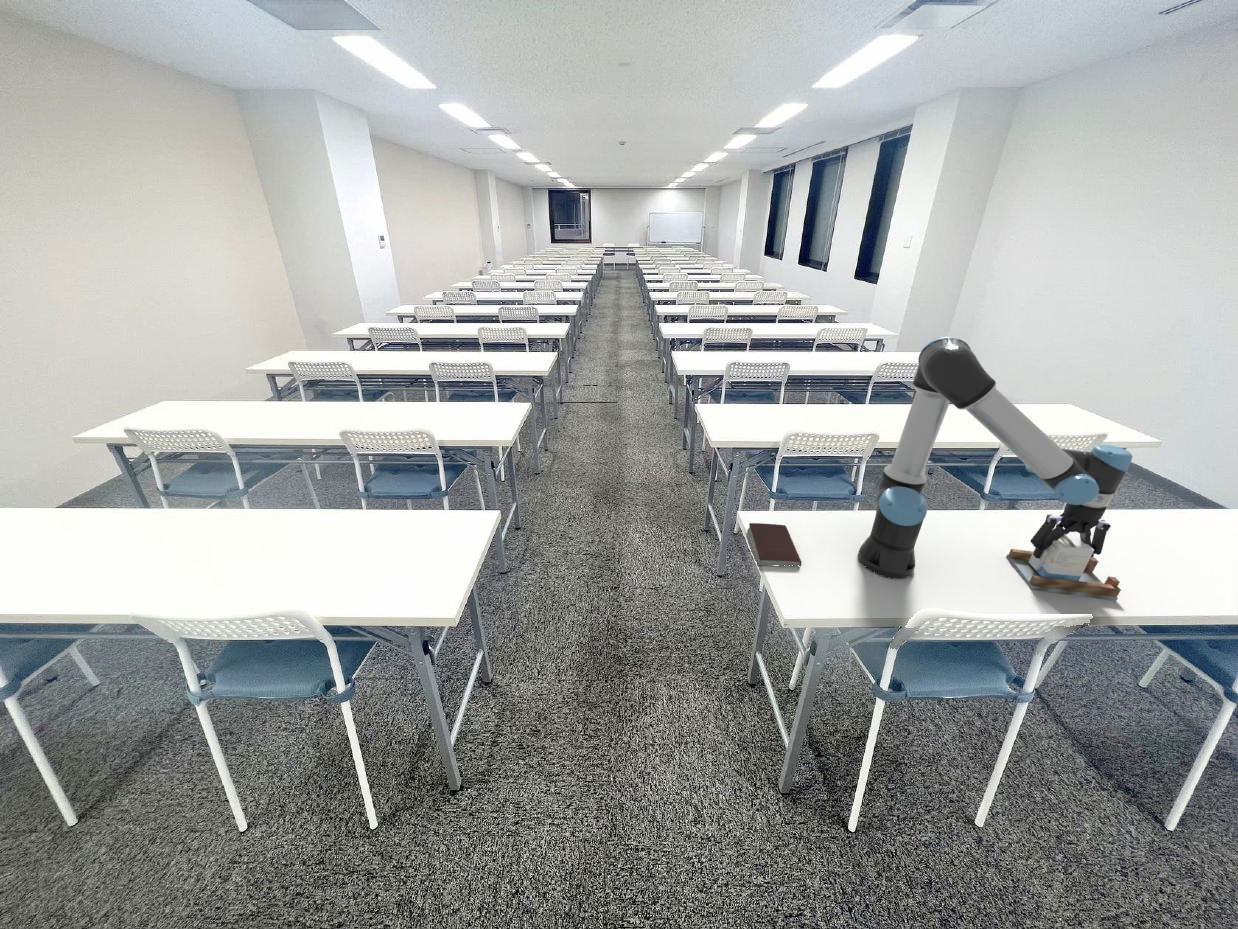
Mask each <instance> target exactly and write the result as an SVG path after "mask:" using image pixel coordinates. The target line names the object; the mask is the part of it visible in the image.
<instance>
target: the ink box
mask: <svg viewBox="0 0 1238 929" xmlns="http://www.w3.org/2000/svg"><path fill="white" fill-rule="evenodd" d="M1035 549H1036V547H1035V546H1034V550H1033V553H1034V551H1035ZM1047 550H1048V553H1047V555H1046V557H1045V559H1044V561H1043V563H1042V565H1041V567H1040V569H1039V570H1038V569H1036V568H1035V567H1034V566H1033V565H1032V564H1031V563H1032V561H1033V559H1034V557H1035V556H1034V555H1033V554H1032V556H1031V558H1030V560H1029V564H1030V565H1031V566H1032V567H1033V568H1034V569H1035V570H1036V571H1037V572H1038V573H1039V574H1040V575H1041V576H1043V577H1051V578H1058V579H1066V580H1074V581H1079V579H1080V577H1081V575H1082V573H1083V571H1084V569H1085V567H1086V565H1087V564H1088V562H1089V559H1090V558H1091V556H1092V554H1093V552H1094V549H1093V548H1092V547H1091V546H1089V545H1088V544H1085V543H1084V542H1083V541H1082V540H1081V539H1080V535H1078V533H1077V532H1069V533H1068V534H1066V535H1063V536H1062V537H1061V538H1059V539H1058V540H1057V541H1055V540H1054V541H1053V543H1052V545H1051V546H1049V547H1048V548H1047Z"/></svg>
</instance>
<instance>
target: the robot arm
mask: <svg viewBox="0 0 1238 929" xmlns="http://www.w3.org/2000/svg"><path fill="white" fill-rule="evenodd" d="M917 360H918V361H917V362H918V366H917V369H916V372H915V375H914V378H913V382H912V387H913V388H914V389H915V390H916V392H915V394H914V397H913V400H912V404H911V406H910V409H909V411H908V414H907V418H906V421H905V423H904V426H903V430H902V432H901V435H900V438H899V441H898V444H897V446H896V450H895V453H894V455H893V459H892V462H891V464H889V465H886V466H884V469H883V470H882V474H881V476H880V477H879V478H878V480H877V481H876V484H875V488H874V489H875V491H874V492H875V493H874V494H875V504H876V507H875V509H876V510H875V517H874V520H873V524H872V528H871V531H870V535H869V536H868V537H867V538H866V539H865V541H864V542H863V543H862V545H861V546H860V547H859V549H858V554H857V558H859V559H858V561H859V560H860V561H859V562H860V564H861V563H862V564H863V565H864V566H866V567H865V569H867V570H868V569H869V570H868V571H870V570H871V571H870V572H871V573H874V572H875V573H874V574H876V573H877V574H876V575H878V576H881V575H882V576H881V577H884V578H888V577H890V578H889V579H894V578H895V579H896V580H897V579H898V580H901V579H906V578H909V577H910V576H912V575H913V573H914V570H915V568H916V556H915V545H916V543H917V541H918V537H919V534H920V531H921V529H922V525H923V523H924V520H925V518H926V516H927V513H928V501H927V498H926V497H924V495H922V492H923V491H924V488H925V486H926V483H927V476H926V474H925V473H924V472H925V468H926V465H927V463H928V461H929V458H930V455H931V452H932V450H933V448H934V445H935V442H936V439H937V437H938V434H939V432H940V429H941V427H942V424H943V421H944V418H945V416H946V413H947V411H948V409H949V406H950V403H951V404H952V405H954V406H955V408H956V409H958V410H966V412H968V413H969V414H970V415H971V416H973V418H975V419H976V420H977V422H979V423H980V424H981V425H982V426H983V427H984V428H986V430H988V431H989V432H990V433H991V434H992V435H993V436H994V437H995V438H996V439H997V440H999V442H1001V443H1002V444H1003V445H1004V446H1005V447H1006V448H1007V449H1008V450H1009V451H1011V453H1013V454H1014V455H1015V456H1016V457H1017V458H1018V459H1019V460H1020V461H1021V462H1023V463H1024V464H1025V469H1026V471H1027V472H1029V473H1033V474H1036V475H1037V476H1038V478H1040V479H1041V481H1043V483H1045V484H1046V485H1047V486H1048V487H1049V488H1050V489H1052V490H1053V492H1054V494H1055V495H1056V497H1057V498H1059V500H1061V501H1062V502H1064V504H1065V506H1064V509H1063V512H1062V513H1061V514H1060V515H1052V514H1050V513H1048V514H1047V515H1046V517H1045V521H1044V523H1042V525H1041V526H1040V528H1038V530H1037V531H1036V532H1035V534H1034V535H1033V537H1032V538H1031V539H1030V543H1031V544H1032V546H1034V549H1035V547H1036V549H1035V551H1034V550H1033V551H1034V553H1033V555H1034V556H1035V557H1034V559H1033V561H1032V563H1031V564H1032V565H1033V566H1034V567H1035V568H1036V569H1038V570H1039V569H1040V567H1041V565H1042V563H1043V561H1044V559H1045V557H1046V555H1047V553H1048V550H1047V548H1048V547H1049V546H1051V545H1052V543H1053V541H1054V540H1055V541H1057V540H1058V539H1059V538H1061V537H1062V536H1063V535H1066V534H1068V533H1077V534H1079V537H1080V539H1081V540H1082V541H1083V542H1084V543H1085V544H1088V545H1089V546H1091V547H1092V548H1093V549H1094V552H1093V554H1092V556H1091V557H1094V556H1095V555H1101V554H1102V551H1103V547H1104V544H1105V540H1106V536H1107V532H1108V531H1109V530H1110V528H1112V526H1111V524H1110V523H1108V521H1106V520H1105V519H1102V517H1103V515H1104V514H1105V512H1106V510H1107V507H1108V506H1109V504H1110V503H1111V501H1112V499H1113V497H1114V495H1115V493H1116V491H1117V489H1118V488H1119V485H1120V484H1121V481H1122V480H1123V478H1124V476H1125V475H1126V473H1127V472H1128V470H1129V468H1130V464H1131V463H1132V459H1133V454H1132V452H1130V451H1129V450H1127V449H1125V448H1122V447H1119V446H1116V445H1111V444H1110V445H1109V444H1098V445H1097V444H1096V445H1095V446H1094V447H1093V448H1092V449H1091V451H1081V450H1080V451H1079V450H1074V449H1067V448H1061V446H1059V445H1058V444H1057V443H1056V442H1055V441H1054V440H1053V439H1052V438H1050V437H1049V436H1048V435H1047V434H1046V433H1045V432H1044V431H1043V430H1042V429H1040V427H1038V425H1036V424H1035V423H1034V422H1033V421H1032V420H1031V419H1030V418H1029V417H1028V416H1026V415H1025V414H1024V413H1023V412H1022V411H1021V410H1020V409H1019V408H1018V407H1017V406H1015V405H1014V404H1013V403H1012V402H1011V401H1010V400H1009V399H1008V398H1007V397H1006V396H1004V395H1003V393H1002V392H1001V391H999V390H998V389H997V388H996V386H997V381H996V380H995V379H994V378H993V377H992V376H991V375H989V373H988V372H987V371H986V370H985V369H984V367H983V366H982V365H981V363H980V361H979V360H978V358H977V356H976V355H975V353H974V352H973V351H972V349H971V347H970V346H969V344H968V343H967V342H966V341H964V340H962V339H960V338H957V337H954V336H943V337H937V338H935V339H933V340H931V341H930V342H928V343H927V344H926V345H925V346H924V347H923V348H922V349H921V352H920V353H919V356H918V359H917ZM1093 528H1094V532H1093V535H1092V530H1091V529H1093ZM1091 536H1092V539H1091ZM1094 558H1095V557H1094ZM862 564H861V565H862ZM863 565H862V566H863ZM864 566H863V567H864ZM895 579H894V580H895Z"/></svg>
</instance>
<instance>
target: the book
mask: <svg viewBox="0 0 1238 929" xmlns="http://www.w3.org/2000/svg"><path fill="white" fill-rule="evenodd" d="M748 525H749V526H748V528H747V533H748V535H749V539H750V538H751V539H750V541H751V542H750V543H751V544H752V548H753V550H754V549H755V551H754V553H755V557H756V559H757V560H756V561H757V564H759V566H758V567H761V565H762V567H765V566H764V565H779V566H778V567H785V566H789V565H790V566H792V565H793V566H798V565H799V566H800V567H801V566H802V559H801V558H800V555H799V553H798V551H797V549H796V546H795V544H794V541H793V539H792V538H791V534H790V532H789V530H788V528H787V525H785V524H775V523H763V522H762V523H760V522H757V523H756V522H749V523H748ZM784 565H785V566H784Z"/></svg>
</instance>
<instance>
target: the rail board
mask: <svg viewBox="0 0 1238 929" xmlns="http://www.w3.org/2000/svg"><path fill="white" fill-rule="evenodd" d="M1033 551H1034V550H1033ZM1033 551H1032V550H1026V549H1025V550H1023V549H1017V548H1011V549H1010V551H1009V552H1008V554H1006V556H1005V557H1006V558H1007V561H1009V563H1010V564H1011V565H1012V566H1013V568H1014V570H1015V571H1016V572H1017V573H1018V574H1019V576H1021V578H1022V579H1023V580H1024V582H1025V583H1026V584H1027V585H1028V588H1030V589H1031V591H1032V590H1033V591H1040V592H1049V593H1056V594H1061V595H1069V596H1077V597H1083V598H1090V597H1091V599H1098V600H1099V599H1100V600H1105V599H1107V600H1106V601H1112V600H1117V601H1118V599H1119V598H1118V596H1119V594H1120V593H1121V591H1122V589H1121V588H1120V587H1119V584H1120V582H1121V581H1120V580H1119V579H1117V578H1116V577H1115V576H1109V575H1108V577H1107V578H1106V580H1105V581H1104V582H1102V580H1101V579H1100V578H1099V577H1098V576H1096V574H1095V573H1093V572H1094V571H1095V568H1096V566H1097V565H1098V563H1099V560H1098V559H1097V558H1096V557H1091V558H1090V559H1089V562H1088V564H1087V565H1086V567H1085V569H1084V571H1083V573H1082V575H1081V577H1080V579H1079V581H1074V580H1066V579H1058V578H1051V577H1043V576H1041V575H1040V574H1039V573H1038V572H1037V571H1036V570H1035V569H1034V568H1033V567H1032V566H1031V565H1030V564H1029V560H1030V558H1031V556H1032V554H1033Z"/></svg>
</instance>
